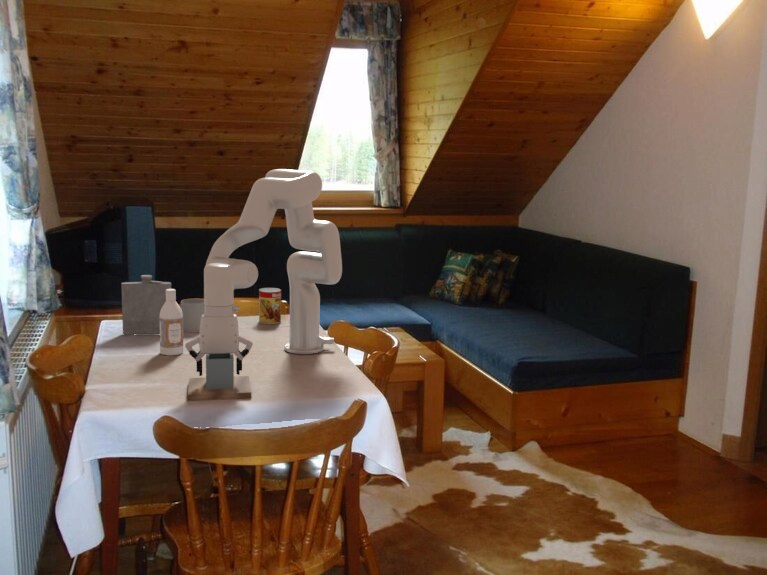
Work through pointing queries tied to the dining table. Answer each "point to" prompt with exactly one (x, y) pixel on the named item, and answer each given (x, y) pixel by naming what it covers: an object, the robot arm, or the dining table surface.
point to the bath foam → (171, 326)
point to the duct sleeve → (219, 371)
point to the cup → (192, 314)
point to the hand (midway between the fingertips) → (219, 373)
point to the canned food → (269, 305)
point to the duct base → (200, 393)
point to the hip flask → (143, 305)
